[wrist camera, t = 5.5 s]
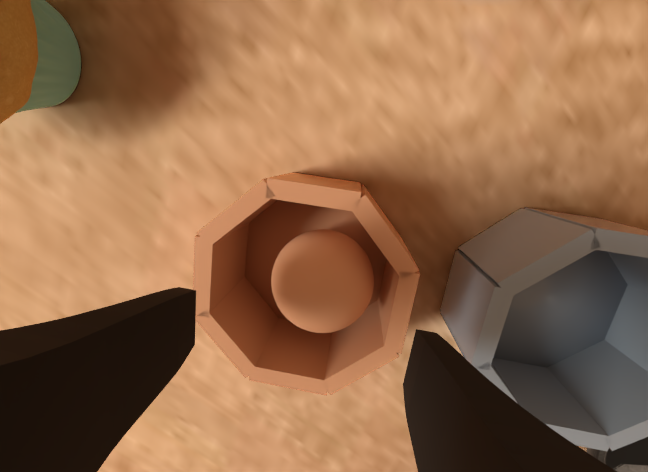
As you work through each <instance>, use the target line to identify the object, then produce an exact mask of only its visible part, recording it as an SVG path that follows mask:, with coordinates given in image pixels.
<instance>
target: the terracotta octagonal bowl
mask: <svg viewBox="0 0 648 472" xmlns="http://www.w3.org/2000/svg"><path fill="white" fill-rule="evenodd" d="M319 229H327V230H333V231H337V232H340V233H343V234H345V235H347V236H348V237H350V238H352V239H353V240H354V241H356V242H357V243H358V244H359V245H360V246H361V247H362V249H363V250H364V251H365V253H366V254H367V256H368V258H369V260H370V262H371V265H372V269H373V275H374V288H373V294H372V297H371V300H370V302H369V304H368V306H367V308H366V310H365V311H364V313H363V314H362V315H361V316H360V317H359V318H358V319H357V320H356V321H355V322H354V323H352V324H351V325H349V326H348V327H346V328H344V329H341V330H339V331H335V332H330V333H315V332H310V331H307V330H304V329H302V328H299V327H298V326H296V325H294V324H293V323H292V322H290V321H289V320H288V319H287V318H286V317H285V316H284V315H283V314H282V312H281V311H280V309H279V308H278V306H277V304H276V302H275V299H274V296H273V292H272V285H271V277H272V270H273V267H274V264H275V261H276V259H277V257H278V255H279V253H280V252H281V250H282V249H283V248H284V247H285V245H287V244H288V243H289V242H290V241H291V240H292V239H294V238H295V237H297V236H299V235H301V234H303V233H305V232H308V231H312V230H319ZM197 234H198V235H196V236H195V249H194V279H193V290H196V315H197V316H196V317H195V320H196V322H197V323H198V324H199V325H200V326H201V327H202V328H203V330H204V331H205V332H206V333H207V334H208V335H209V337H210V338H211V339H212V340H213V341H214V342H215V344H216V345H217V346H218V347H219V348H220V349H221V350H222V352H223V353H224V354H225V355H226V356H227V357H228V359H229V360H230V361H231V362H232V363H233V364H234V365H235V367H236V368H237V369H238V370H239V371H240V372H241V374H242V375H243V376H244V377H245V378H246V377H248V376H249V380H251V381H256V382H261V383H266V384H271V385H276V386H281V387H286V388H291V389H296V390H301V391H306V392H311V393H316V394H321V395H326V396H327V391H328V393H329V394H330V395H331V394H333V393H335V392H337V391H339V390H340V389H342V388H344V387H346V386H347V385H349V384H351V383H353V382H355V381H356V380H358V379H360V378H362V377H364V376H365V375H367V374H369V373H371V372H373V371H374V370H376V369H378V368H380V367H382V366H383V365H385V364H387V363H389V362H391V361H392V360H394V359H396V358H398V357H399V355H398V353H400V354H401V353H402V349H403V345H404V341H405V336H406V332H407V328H408V324H409V319H410V315H411V311H412V307H413V302H414V298H415V294H416V290H417V286H418V281H419V277H420V273H419V271H418V270H419V268H418V267H417V265H416V263H415V261H414V259H413V257H412V256H411V254H410V252H409V250H408V248H407V247H406V245H405V243H404V241H403V239H402V238H401V236H400V235H399V233H398V232H397V231H396V229H395V228H394V226H393V225H392V224H391V222H390V221H389V219H388V218H387V217H386V215H385V214H384V212H383V211H382V210H381V208H380V207H379V205H378V204H377V203H376V201H375V200H374V198H373V197H372V196H371V194H370V193H369V191H368V190H367V189H366V187H365V186H364V184H363V185H362V186H361V184H360V182H354V181H347V180H341V179H334V178H327V177H321V176H314V175H307V174H301V173H294V172H293V173H288V174H284V175H279V176H274V177H270V178H266V179H262V180H261V181H260V182H259V183H257V184H256V185H255V186H254V187H253V188H251V189H250V190H249V191H248V192H246V193H245V194H244V195H243V196H241V197H240V198H239V199H238V200H236V201H235V202H234V203H233V204H231V205H230V206H229V207H228V208H227V209H225V210H224V211H223V212H222V213H220V214H219V215H218V216H217V217H215V218H214V219H213V220H212V221H210V222H209V223H208V224H207V225H205V226H204V227H203V228H202V229H201V230H199V231H198V232H197Z"/></svg>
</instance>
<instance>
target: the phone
mask: <svg viewBox="0 0 648 472" xmlns="http://www.w3.org/2000/svg"><path fill="white" fill-rule="evenodd" d="M587 453H588V454H590V455H592V456H593V457H595V458H596V459H598V460H599V461H601V462H603V463H604V464H606V465H607V466H609V467H611V468H612V469H614V470H615V471H617V472H648V437H646V438H643V439H641V440H638V441H636V442H634V443H631V444H629V445H626V446H624V447H621V448H619V449H616V450H614V451H612V450H611V449H610V448H609V449H608V451H602V450H597V449H592V448H587Z"/></svg>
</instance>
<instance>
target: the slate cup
mask: <svg viewBox="0 0 648 472" xmlns="http://www.w3.org/2000/svg"><path fill="white" fill-rule="evenodd" d="M458 248H459V250H460V251H458V250H456V251H455V255H454V259H453V262H452V266H451V270H450V274H449V278H448V282H447V285H446V289H445V293H444V297H443V301H442V304H441V308H440V311H441V315H442V317H443V319H444V321H445V322H446V324H447V326H448V328H449V330H450V332H451V334H452V336H453V337H454V339H455V341H456V343H457V345H458V347H459V349H460V351H461V353H462V354H463V356H464V358H465V359H466V360H467V361H468V362H470V363H471V364H472V365H473V366H474V367H475V368H476V369H477V370H478V371H480V372H481V373H482V374H483V375H484V376H485V377H486V378H487V379H489V380H490V381H491V382H492V383H493V384H494V385H496V386H497V387H498V388H499V389H500V390H502V391H503V392H504V393H505V394H507V395H508V396H509V397H510V398H511V399H513V400H514V401H515V402H516V403H518V404H519V405H520V406H521V407H523V408H524V409H525V410H527V411H528V412H529V413H531V414H532V415H533V416H535V417H536V418H538V419H539V420H540V421H542V422H543V423H544V424H546V425H547V426H549V427H550V428H551V429H553V430H554V431H556V432H557V433H558V434H560V435H561V436H563V437H564V438H566V439H567V440H569V441H570V442H572V443H573V444H575V445H577V446H582V447H587V448H592V449H597V450H602V451H608V449H609V448H610V449H611V450H612V451H614V450H616V449H619V448H621V447H624V446H626V445H629V444H631V443H634V442H636V441H638V440H641V439H643V438H646V437H648V230H644V229H640V228H636V227H632V226H628V225H624V224H620V223H616V222H612V221H608V220H604V219H600V218H594V217H587V216H580V215H574V214H567V213H560V212H554V211H547V210H540V209H534V208H527V207H525V209H523V208H520V209H519V210H517V211H516V212H514V213H512V214H511V215H509V216H508V217H506V218H504V219H503V220H501V221H499V222H498V223H496V224H495V225H493V226H491V227H490V228H488V229H487V230H485V231H483V232H482V233H480V234H479V235H477V236H475V237H474V238H472V239H470V240H469V241H467V242H466V243H464V244H462V245H461V246H459V247H458Z"/></svg>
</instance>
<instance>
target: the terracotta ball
mask: <svg viewBox="0 0 648 472" xmlns="http://www.w3.org/2000/svg"><path fill="white" fill-rule="evenodd" d="M271 285H272V292H273V296H274V299H275V302H276V304H277V306H278V308H279V309H280V311H281V312H282V314H283V315H284V316H285V317H286V318H287V319H288V320H289V321H290V322H292V323H293V324H294V325H296V326H298V327H299V328H302V329H304V330H307V331H310V332H315V333H330V332H335V331H339V330H341V329H344V328H346V327H348V326H349V325H351V324H352V323H354V322H355V321H356V320H357V319H358V318H359V317H360V316H361V315H362V314H363V313H364V311H365V310H366V308H367V306H368V304H369V302H370V300H371V297H372V294H373V288H374V275H373V269H372V265H371V262H370V260H369V258H368V256H367V254H366V253H365V251H364V250H363V249H362V247H361V246H360V245H359V244H358V243H357V242H356V241H354V240H353V239H352V238H350V237H348V236H347V235H345V234H343V233H340V232H337V231H333V230H327V229H319V230H312V231H308V232H305V233H303V234H301V235H299V236H297V237H295V238H294V239H292V240H291V241H290V242H289V243H288V244H287V245H285V247H284V248H283V249H282V250H281V252H280V253H279V255H278V257H277V259H276V261H275V264H274V267H273V270H272V277H271Z"/></svg>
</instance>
